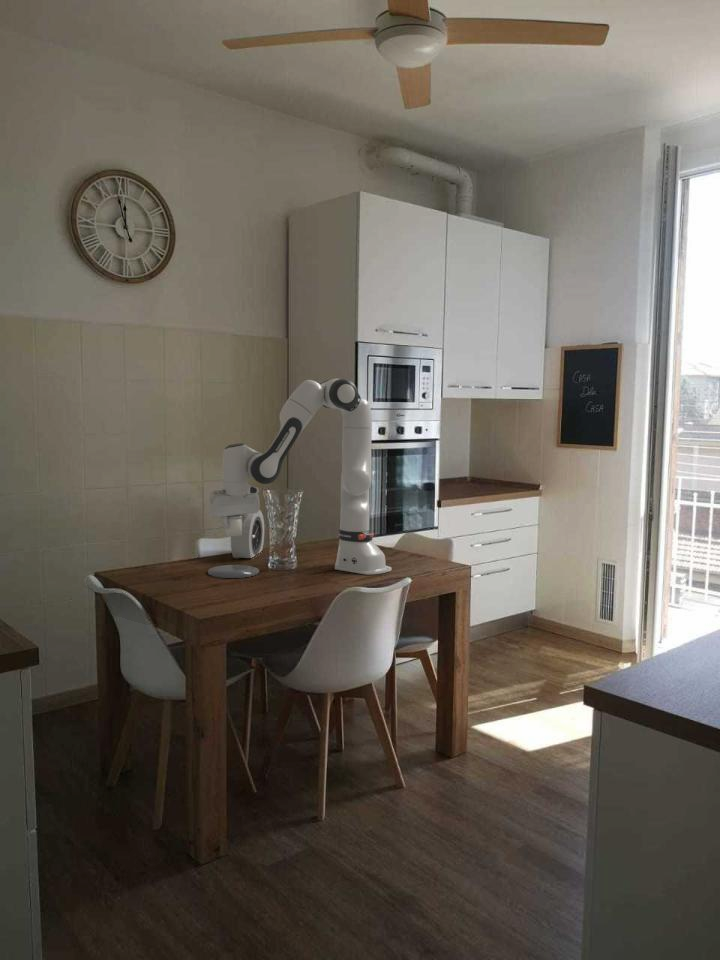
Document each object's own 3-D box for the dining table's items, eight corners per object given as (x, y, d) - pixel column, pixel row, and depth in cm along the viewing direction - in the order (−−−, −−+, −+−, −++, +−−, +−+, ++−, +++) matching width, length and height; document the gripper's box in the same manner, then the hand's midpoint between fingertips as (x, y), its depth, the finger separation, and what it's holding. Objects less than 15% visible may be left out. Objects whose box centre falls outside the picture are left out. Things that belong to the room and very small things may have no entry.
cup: (245, 535, 274) (245, 515, 273) (232, 536, 270) (232, 517, 269) (235, 532, 278) (235, 513, 277) (222, 534, 274) (222, 515, 273)
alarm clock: (248, 561, 296) (249, 510, 294) (230, 560, 297) (230, 509, 295) (264, 551, 317) (264, 503, 315) (246, 550, 318) (247, 502, 316)
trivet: (269, 573, 275) (269, 571, 275) (227, 581, 263) (227, 578, 263) (238, 565, 288) (238, 562, 288) (198, 572, 275) (198, 569, 275)
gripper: (215, 491, 263) (214, 531, 264) (262, 488, 277) (261, 526, 279) (204, 490, 267) (204, 529, 268) (251, 486, 282) (251, 523, 283)
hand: (234, 527), depth 274 cm, fingers closed on cup, 5 cm apart
